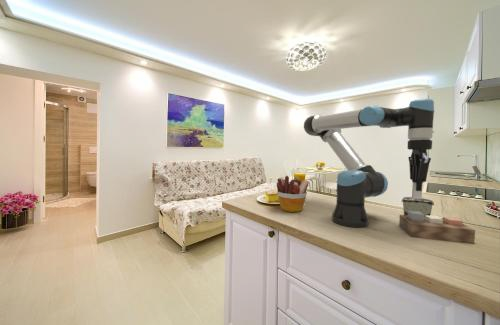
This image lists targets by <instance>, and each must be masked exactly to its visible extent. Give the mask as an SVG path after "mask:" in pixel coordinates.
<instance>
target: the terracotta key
mask: <svg viewBox="0 0 500 325" xmlns="http://www.w3.org/2000/svg"><path fill="white" fill-rule="evenodd" d="M442 218H443V222H444V223H446V224H448V225H458V226H462V224H464V223H463V222H464V221H463V220H462V219H459V218H457V217H450V216H442Z"/></svg>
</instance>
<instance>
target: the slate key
mask: <svg viewBox="0 0 500 325" xmlns="http://www.w3.org/2000/svg"><path fill="white" fill-rule="evenodd" d="M408 220H410V221H413V222H424V214H422V213H421V212H417V211H408Z"/></svg>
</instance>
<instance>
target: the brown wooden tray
mask: <svg viewBox="0 0 500 325" xmlns="http://www.w3.org/2000/svg"><path fill="white" fill-rule="evenodd" d="M440 218H441V219H443V217H440ZM398 226H399V227H400V229H402V230H403V231H404V232H405V233H406V234H407V235H408V236H410V237H412V238H419V239H428V240H436V241H437V240H438V241H439V240H440V241H446V242H447V241H448V242H456V243H466V244H475V241H476V240H475V238H476V237H475V236H476V229H474V228H473V227H470V226H468V225H466V224H464V223H463V224H462V226H458V225H448V224H446V223H444V222H443V224H436V223H428V222H427V221H425V217H424V222H413V221H410V220H408V215H404V214H399V223H398Z"/></svg>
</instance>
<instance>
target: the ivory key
mask: <svg viewBox="0 0 500 325" xmlns="http://www.w3.org/2000/svg"><path fill="white" fill-rule="evenodd" d="M441 218H442V217H439V216H437V215H430V216H428V215H425V221H427V222H428V223H436V224H443V219H441Z"/></svg>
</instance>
